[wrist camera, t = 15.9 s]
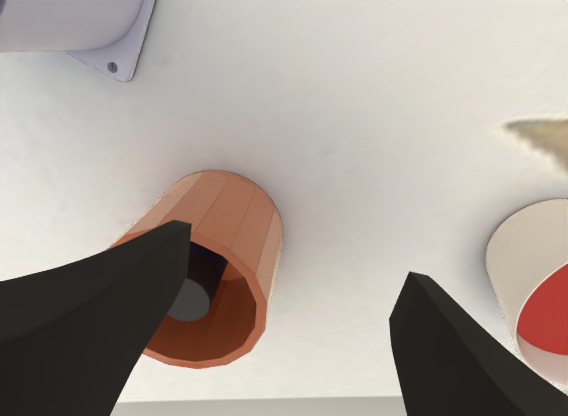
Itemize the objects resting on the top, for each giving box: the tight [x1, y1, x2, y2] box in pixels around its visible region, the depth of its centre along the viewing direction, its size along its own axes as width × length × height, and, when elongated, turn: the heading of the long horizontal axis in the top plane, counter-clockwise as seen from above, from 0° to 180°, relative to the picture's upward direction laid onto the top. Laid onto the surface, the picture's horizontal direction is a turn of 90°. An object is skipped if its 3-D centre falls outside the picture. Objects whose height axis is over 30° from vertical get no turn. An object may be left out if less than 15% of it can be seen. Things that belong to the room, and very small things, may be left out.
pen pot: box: [106, 170, 283, 369], centre depth 20 cm, size 8×8×8 cm
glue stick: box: [167, 241, 229, 321], centre depth 20 cm, size 3×3×6 cm
